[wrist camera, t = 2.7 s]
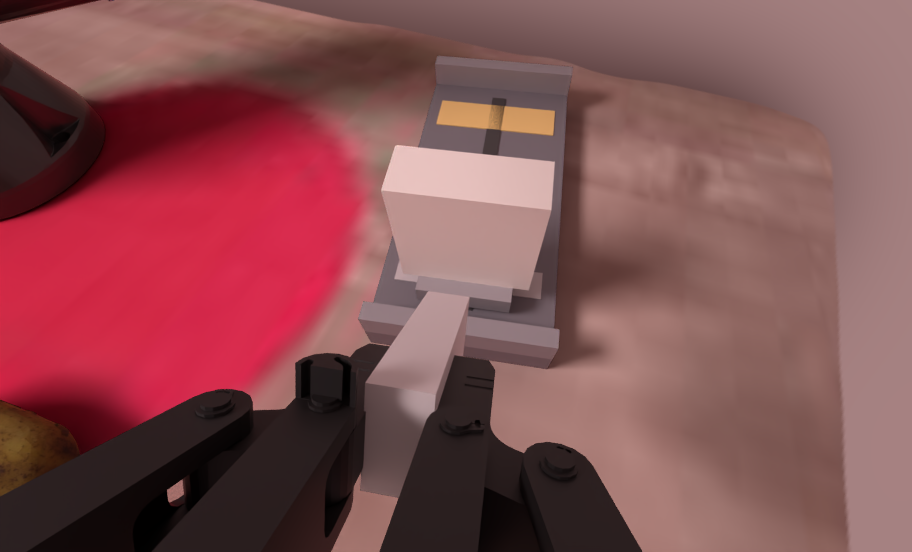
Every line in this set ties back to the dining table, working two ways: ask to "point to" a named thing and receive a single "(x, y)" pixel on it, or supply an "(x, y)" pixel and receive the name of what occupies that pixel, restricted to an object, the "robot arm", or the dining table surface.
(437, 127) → the fader deck
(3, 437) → the potato
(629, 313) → the dining table surface
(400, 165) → the fader knob
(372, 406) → the robot arm
